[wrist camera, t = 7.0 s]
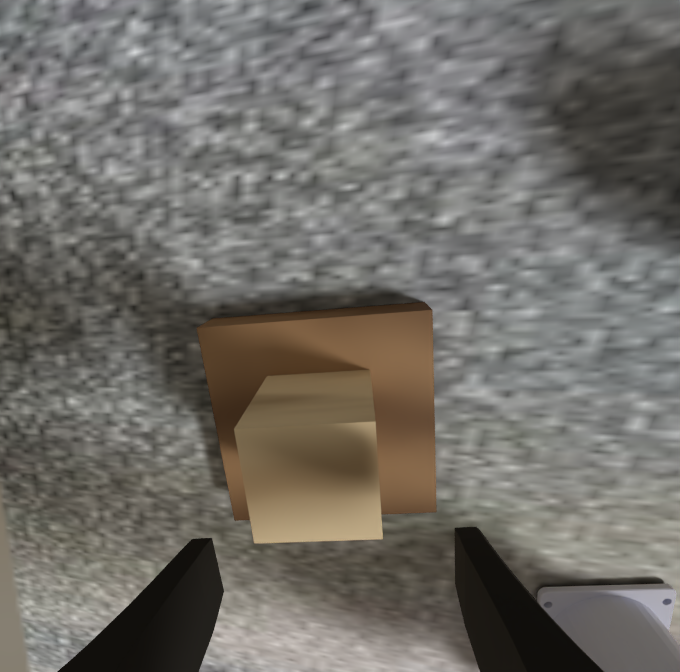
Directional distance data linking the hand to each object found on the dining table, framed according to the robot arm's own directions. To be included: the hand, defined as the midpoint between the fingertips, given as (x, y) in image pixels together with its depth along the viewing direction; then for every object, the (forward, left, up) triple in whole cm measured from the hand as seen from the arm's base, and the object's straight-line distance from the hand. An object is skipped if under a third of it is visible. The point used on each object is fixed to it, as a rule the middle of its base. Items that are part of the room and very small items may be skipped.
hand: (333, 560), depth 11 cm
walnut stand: (0, +1, -10) cm, 10 cm away
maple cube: (0, +1, -8) cm, 8 cm away
